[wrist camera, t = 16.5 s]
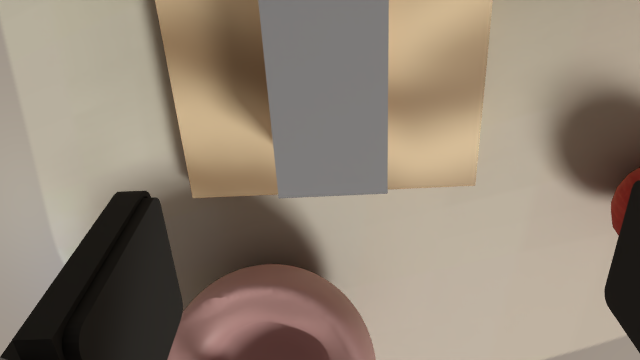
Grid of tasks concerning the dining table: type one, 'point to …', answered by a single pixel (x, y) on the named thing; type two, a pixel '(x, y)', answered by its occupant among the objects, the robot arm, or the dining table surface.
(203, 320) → the mortar and pestle
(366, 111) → the block
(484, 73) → the oak board
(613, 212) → the pomegranate
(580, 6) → the dining table surface
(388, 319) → the dining table surface
